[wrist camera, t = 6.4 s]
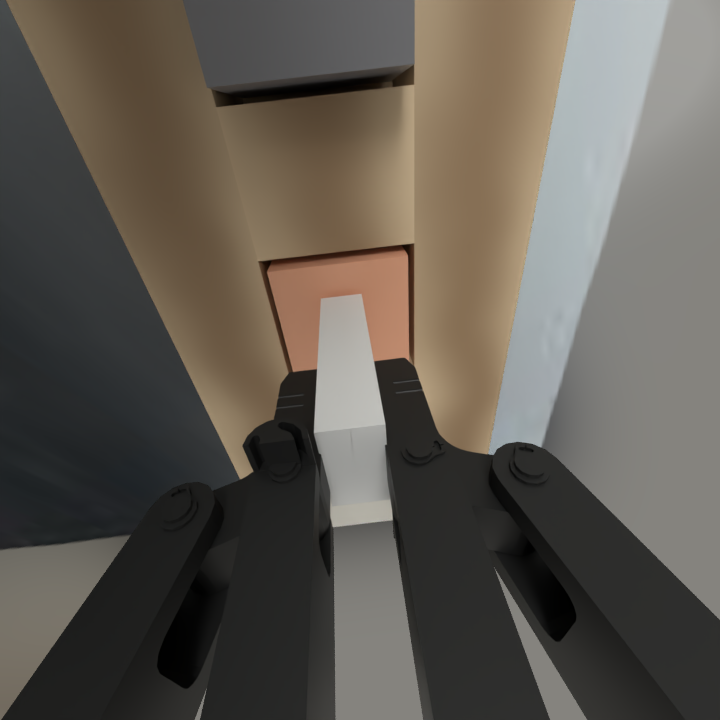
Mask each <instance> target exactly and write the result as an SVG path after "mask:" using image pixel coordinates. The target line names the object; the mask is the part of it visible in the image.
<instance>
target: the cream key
mask: <svg viewBox="0 0 720 720" xmlns="http://www.w3.org/2000/svg"><path fill="white" fill-rule="evenodd" d="M330 517H331V521H332V526H333V527H340V526H348V525H356V524H365V523H373V522H381V521H390V520H393V517H392V507H391V500H382V501H373V502H365V503H357V504H348V505H340V506H332V504H331V500H330Z"/></svg>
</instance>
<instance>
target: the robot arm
mask: <svg viewBox="0 0 720 720" xmlns="http://www.w3.org/2000/svg"><path fill="white" fill-rule="evenodd" d="M242 447H243V449H244V451H245V454H246V456H247V458H248V460H249V463H250V465H251V467H252V469H253V472H252V473H250V474H249V475H248V476H246V477H244V478H242V479H240V480H238V481H236V482H234V483H231V484H229V485H226V486H224V487H221V488H219V489H216V490H214V491H212V490H211V489H210V487H209V486H208V485H206V484H203V483H200V482H193V483H185V484H183V485H180V486H178V487H175V488H173V489H171V490H170V491H168V492H167V493H165V494H164V495H163V496H161V497H160V498H159V499H158V500H157V501H156V502H155V504H154V505H153V506H152V507H151V508H150V509H149V511H148V512H147V514H146V515H145V516H144V518H143V519H142V521H141V522H140V523H139V525H138V526H137V528H136V529H135V531H134V532H133V533H132V535H131V536H130V538H129V539H128V540H127V542H126V543H125V545H124V546H123V548H122V549H121V551H120V552H119V553H118V555H117V556H116V558H115V559H114V561H113V562H112V563H111V565H110V566H109V568H108V569H107V570H106V572H105V573H104V575H103V576H102V577H101V579H100V580H99V582H98V583H97V585H96V586H95V587H94V589H93V590H92V592H91V593H90V595H89V596H88V597H87V599H86V600H85V602H84V603H83V604H82V606H81V607H80V609H79V610H78V612H77V613H76V614H75V616H74V617H73V619H72V620H71V622H70V623H69V624H68V626H67V627H66V629H65V630H64V632H63V633H62V634H61V636H60V637H59V639H58V640H57V641H56V643H55V644H54V646H53V647H52V648H51V650H50V651H49V653H48V654H47V656H46V657H45V659H44V660H43V661H42V663H41V664H40V665H39V667H38V668H37V670H36V671H35V673H34V674H33V676H32V677H31V678H30V680H29V681H28V683H27V684H26V685H25V687H24V688H23V690H22V691H21V692H20V694H19V695H18V697H17V698H16V700H15V701H14V703H13V704H12V705H11V707H10V708H9V710H8V711H7V713H6V714H5V715H4V717H3V718H2V720H194V719H195V717H196V714H197V712H198V709H199V707H200V704H201V701H202V699H203V696H204V694H205V691H206V695H205V699H204V705H203V709H202V714H201V718H200V720H335V640H334V552H333V551H334V546H333V526H332V521H331V517H330V500H331V504H332V506H340V505H348V504H357V503H365V502H373V501H382V500H391V507H392V517H393V532H394V538H395V539H396V546H397V552H398V559H399V565H400V571H401V578H402V585H403V591H404V597H405V604H406V611H407V617H408V623H409V630H410V637H411V643H412V650H413V656H414V663H415V669H416V675H417V681H418V688H419V695H420V701H421V708H422V714H423V720H550V718H549V716H548V713H547V711H546V708H545V705H544V702H543V700H542V697H541V694H540V692H539V689H538V686H537V683H536V680H535V678H534V675H533V672H532V669H531V667H530V664H529V661H528V659H527V656H526V653H525V650H524V648H523V645H522V642H521V639H520V637H519V635H518V631H517V629H516V626H515V623H514V620H513V618H512V615H511V612H510V609H509V607H508V604H507V601H506V598H505V596H504V593H503V590H502V588H501V585H500V582H499V579H498V577H497V574H496V571H497V572H498V574H499V575H500V577H501V579H502V580H503V582H504V584H505V585H506V587H507V589H508V590H509V592H510V594H511V595H512V597H513V599H514V600H515V602H516V603H517V605H518V607H519V608H520V610H521V612H522V613H523V615H524V617H525V618H526V620H527V622H528V623H529V625H530V626H531V628H532V630H533V631H534V633H535V635H536V636H537V638H538V639H539V641H540V643H541V644H542V646H543V648H544V649H545V651H546V653H547V654H548V656H549V658H550V659H551V661H552V663H553V664H554V666H555V667H556V669H557V670H558V672H559V674H560V676H561V677H562V679H563V681H564V682H565V684H566V686H567V687H568V689H569V690H570V692H571V694H572V695H573V697H574V699H575V700H576V702H577V703H578V705H579V707H580V708H581V710H582V712H583V713H584V715H585V717H586V718H587V720H720V620H719V619H718V618H717V617H716V616H715V615H714V614H713V613H712V612H711V611H710V610H709V609H708V608H707V607H706V606H705V605H704V604H703V603H702V602H701V601H700V600H699V599H698V598H697V597H696V596H695V595H694V594H693V593H692V592H691V591H690V590H689V589H688V588H687V587H686V586H685V585H684V584H683V583H682V582H681V581H680V580H679V579H678V578H677V577H676V576H675V575H674V574H673V573H672V572H671V571H670V570H669V569H668V568H667V567H666V566H665V565H664V564H663V563H662V562H661V561H660V560H658V558H657V557H656V556H655V555H654V554H653V553H652V552H651V551H650V550H649V549H648V548H647V547H646V546H645V545H644V544H643V543H642V542H640V540H639V539H638V538H637V537H635V536H634V534H633V533H632V532H631V531H629V529H627V527H626V526H624V525H623V523H621V521H620V520H618V519H617V518H616V517H615V516H614V515H613V514H612V513H611V512H610V511H609V510H608V509H607V508H606V507H605V506H604V505H603V504H602V503H601V502H600V501H599V500H598V499H597V498H596V497H595V496H594V495H593V494H592V493H591V492H590V491H589V490H588V489H587V488H586V487H585V486H584V485H583V484H582V483H581V482H580V481H579V480H578V479H577V478H576V477H575V476H574V475H573V474H572V473H571V472H570V471H569V470H568V469H567V468H566V467H565V466H564V465H563V464H562V463H561V462H560V461H559V460H558V459H557V458H556V457H554V456H553V455H552V454H550V453H549V452H548V451H547V450H545V449H543V448H540V447H538V446H536V445H533V444H529V443H522V442H514V443H508V444H505V445H503V446H502V447H500V448H498V449H497V450H496V452H495V454H494V455H489V454H482V453H476V452H470V451H466V450H462V449H459V448H457V447H455V446H453V445H451V444H450V443H448V442H447V441H446V440H445V439H444V438H443V437H442V436H441V435H440V434H439V432H438V430H437V428H436V426H435V423H434V420H433V417H432V414H431V411H430V408H429V406H428V403H427V400H426V397H425V394H424V391H423V389H422V385H421V383H420V381H419V377H418V374H417V371H416V368H415V366H414V365H412V364H411V363H410V362H409V361H408V360H407V359H406V358H396V359H388V360H379V361H374V359H373V354H372V348H371V343H370V337H369V332H368V327H367V321H366V316H365V310H364V305H363V299H362V294H355V295H346V296H338V297H329V298H321V306H320V325H319V344H318V362H317V369H313V370H304V371H296V372H289V374H288V375H287V376H286V377H285V379H284V380H283V381H282V383H281V384H280V390H279V395H278V400H277V405H276V411H275V416H274V420H270V421H267V422H265V423H263V424H261V425H259V426H258V427H256V428H255V429H254V430H253V431H252V432H251V433H250V434H249V435H248V436H247V437H246V439H245V441H244V443H243V445H242ZM494 567H495V568H494ZM495 569H496V571H495ZM206 688H207V690H206Z"/></svg>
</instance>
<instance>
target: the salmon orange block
mask: <svg viewBox="0 0 720 720" xmlns="http://www.w3.org/2000/svg"><path fill="white" fill-rule="evenodd" d="M267 274H268V278H269V282H270V286H271V289H272V293H273V297H274V301H275V305H276V308H277V312H278V316H279V320H280V324H281V328H282V331H283V335H284V339H285V343H286V347H287V350H288V354H289V358H290V362H291V366H292V370H293V372H296V371H304V370H313V369H317V362H318V344H319V325H320V306H321V298H329V297H338V296H346V295H355V294H362V299H363V305H364V310H365V316H366V321H367V327H368V332H369V337H370V343H371V348H372V354H373V359H374V361H379V360H388V359H396V358H406V359H407V360H408V361H409V300H408V255H407V253H406V251H405V250H404V248H403V246H402V245H394V246H386V247H377V248H369V249H360V250H351V251H343V252H334V253H326V254H317V255H308V256H300V257H291V258H283V259H274V260H272V262H271V264H270V266H269V269H268V271H267Z"/></svg>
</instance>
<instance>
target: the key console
mask: <svg viewBox="0 0 720 720" xmlns="http://www.w3.org/2000/svg"><path fill="white" fill-rule="evenodd" d="M6 2H7V4H8V6H9V8H10V10H11V12H12V14H13V16H14V18H15V20H16V22H17V24H18V26H19V28H20V30H21V32H22V34H23V36H24V38H25V40H26V42H27V45H28V47H29V49H30V51H31V53H32V55H33V57H34V59H35V61H36V63H37V65H38V67H39V69H40V71H41V73H42V75H43V77H44V79H45V81H46V83H47V85H48V87H49V89H50V92H51V94H52V96H53V98H54V100H55V102H56V104H57V106H58V108H59V110H60V112H61V114H62V116H63V118H64V120H65V122H66V124H67V126H68V128H69V130H70V132H71V134H72V136H73V139H74V141H75V143H76V145H77V147H78V149H79V151H80V153H81V155H82V157H83V159H84V161H85V163H86V165H87V167H88V169H89V171H90V173H91V175H92V177H93V179H94V181H95V183H96V186H97V188H98V190H99V192H100V194H101V196H102V198H103V200H104V202H105V204H106V206H107V208H108V210H109V212H110V214H111V216H112V218H113V220H114V222H115V224H116V226H117V228H118V230H119V233H120V235H121V237H122V239H123V241H124V243H125V245H126V247H127V249H128V251H129V253H130V255H131V257H132V259H133V261H134V263H135V265H136V267H137V269H138V271H139V273H140V275H141V277H142V280H143V282H144V284H145V286H146V288H147V290H148V292H149V294H150V296H151V298H152V300H153V302H154V304H155V306H156V308H157V310H158V312H159V314H160V316H161V318H162V320H163V322H164V324H165V327H166V329H167V331H168V333H169V335H170V337H171V339H172V341H173V343H174V345H175V347H176V349H177V351H178V353H179V355H180V357H181V359H182V361H183V363H184V365H185V367H186V369H187V371H188V374H189V376H190V378H191V380H192V382H193V384H194V386H195V388H196V390H197V392H198V394H199V396H200V398H201V400H202V402H203V404H204V406H205V408H206V410H207V412H208V414H209V416H210V418H211V421H212V423H213V425H214V427H215V429H216V431H217V433H218V435H219V437H220V439H221V441H222V443H223V445H224V447H225V449H226V451H227V453H228V455H229V457H230V459H231V461H232V463H233V465H234V468H235V470H236V472H237V474H238V476H239V478H240V479H242V478H244V477H246V476H248V475H249V474H250V473H252V472H253V469H252V467H251V465H250V463H249V460H248V458H247V456H246V454H245V451H244V449H243V447H242V445H243V443H244V441H245V439H246V437H247V436H248V435H249V434H250V433H251V432H252V431H253V430H254V429H255V428H256V427H258V426H259V425H261V424H263V423H265V422H267V421H270V420H274V416H275V411H276V405H277V400H278V395H279V390H280V384H281V383H282V381H283V380H284V379H285V377H286V376H287V375H288V374H289V372H293V370H292V366H291V362H290V358H289V354H288V350H287V347H286V343H285V339H284V335H283V331H282V328H281V324H280V320H279V316H278V312H277V308H276V305H275V301H274V297H273V293H272V289H271V286H270V282H269V278H268V274H267V271H268V269H269V266H270V264H271V262H272V260H274V259H283V258H291V257H300V256H308V255H317V254H326V253H334V252H343V251H351V250H360V249H369V248H377V247H386V246H394V245H402V246H403V248H404V250H405V251H406V253H407V255H408V300H409V362H410V363H411V364H412V365H414V366H415V368H416V371H417V374H418V377H419V381H420V383H421V385H422V389H423V391H424V394H425V397H426V400H427V403H428V406H429V408H430V411H431V414H432V417H433V420H434V423H435V426H436V428H437V430H438V432H439V434H440V435H441V436H442V437H443V438H444V439H445V440H446V441H447V442H448V443H450V444H451V445H453V446H455V447H457V448H459V449H462V450H466V451H470V452H476V453H482V454H488V451H489V446H490V441H491V435H492V430H493V425H494V420H495V415H496V409H497V404H498V399H499V394H500V389H501V383H502V378H503V373H504V368H505V363H506V357H507V352H508V347H509V342H510V337H511V332H512V326H513V321H514V316H515V311H516V306H517V300H518V295H519V290H520V285H521V280H522V274H523V269H524V264H525V259H526V254H527V249H528V243H529V238H530V233H531V228H532V223H533V217H534V212H535V207H536V202H537V197H538V191H539V186H540V181H541V176H542V171H543V166H544V160H545V155H546V150H547V145H548V140H549V134H550V129H551V124H552V119H553V114H554V108H555V103H556V98H557V93H558V88H559V83H560V77H561V72H562V67H563V62H564V57H565V51H566V46H567V41H568V36H569V31H570V25H571V20H572V15H573V10H574V5H575V0H415V64H414V65H413V66H411V67H410V68H408V69H407V70H406V71H404V72H403V73H402V74H400V75H399V76H397V77H396V78H395V79H393V80H392V81H390V82H382V83H373V84H364V85H355V86H347V87H338V88H329V89H320V90H311V91H303V92H294V93H285V94H276V95H268V96H259V97H250V98H240V97H236V96H233V95H230V94H226V93H223V92H220V91H216V90H213V89H210V88H207V86H206V83H205V79H204V76H203V72H202V68H201V65H200V61H199V58H198V54H197V50H196V47H195V43H194V40H193V36H192V32H191V29H190V25H189V22H188V18H187V14H186V11H185V7H184V4H183V0H6Z"/></svg>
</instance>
